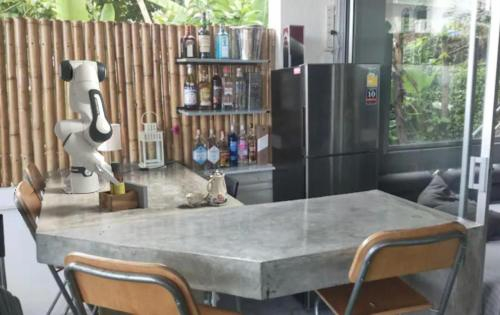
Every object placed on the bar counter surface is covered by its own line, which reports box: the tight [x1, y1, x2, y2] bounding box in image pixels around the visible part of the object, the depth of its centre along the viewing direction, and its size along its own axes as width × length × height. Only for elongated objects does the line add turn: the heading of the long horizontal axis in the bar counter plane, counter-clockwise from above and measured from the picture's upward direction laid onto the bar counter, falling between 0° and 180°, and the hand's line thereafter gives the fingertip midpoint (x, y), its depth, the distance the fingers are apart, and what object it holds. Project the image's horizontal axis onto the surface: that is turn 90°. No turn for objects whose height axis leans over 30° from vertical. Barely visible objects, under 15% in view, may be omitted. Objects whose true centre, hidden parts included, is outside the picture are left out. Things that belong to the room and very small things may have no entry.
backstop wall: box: [124, 180, 149, 209], centre depth 203 cm, size 22×2×10 cm, turn 46°
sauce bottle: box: [109, 161, 125, 195], centre depth 197 cm, size 6×6×20 cm
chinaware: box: [184, 169, 229, 208], centre depth 203 cm, size 28×17×17 cm, turn 153°
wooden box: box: [98, 189, 138, 213], centre depth 197 cm, size 12×12×7 cm
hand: (118, 182), depth 197 cm, fingers open, 8 cm apart
